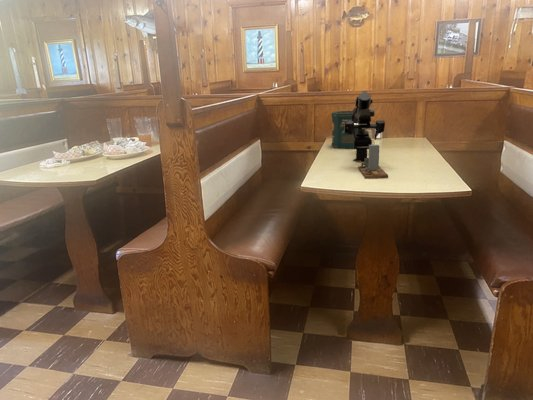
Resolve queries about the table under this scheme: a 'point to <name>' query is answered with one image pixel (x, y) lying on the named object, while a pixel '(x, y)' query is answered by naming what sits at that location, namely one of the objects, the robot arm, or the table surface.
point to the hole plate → (371, 171)
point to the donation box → (341, 130)
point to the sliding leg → (373, 158)
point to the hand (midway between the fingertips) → (365, 139)
